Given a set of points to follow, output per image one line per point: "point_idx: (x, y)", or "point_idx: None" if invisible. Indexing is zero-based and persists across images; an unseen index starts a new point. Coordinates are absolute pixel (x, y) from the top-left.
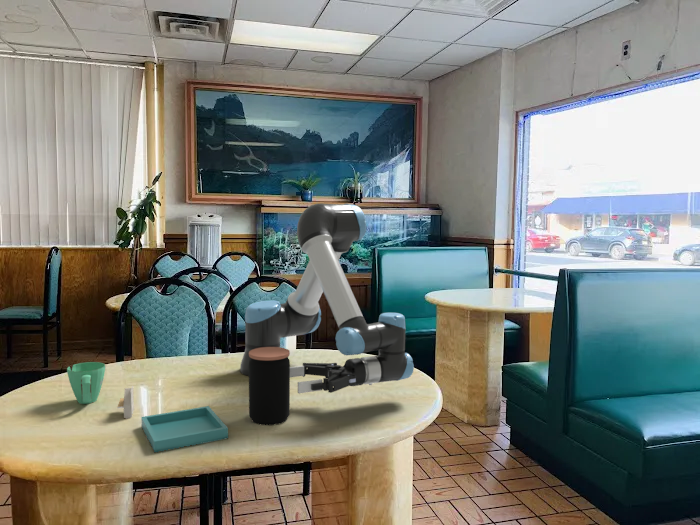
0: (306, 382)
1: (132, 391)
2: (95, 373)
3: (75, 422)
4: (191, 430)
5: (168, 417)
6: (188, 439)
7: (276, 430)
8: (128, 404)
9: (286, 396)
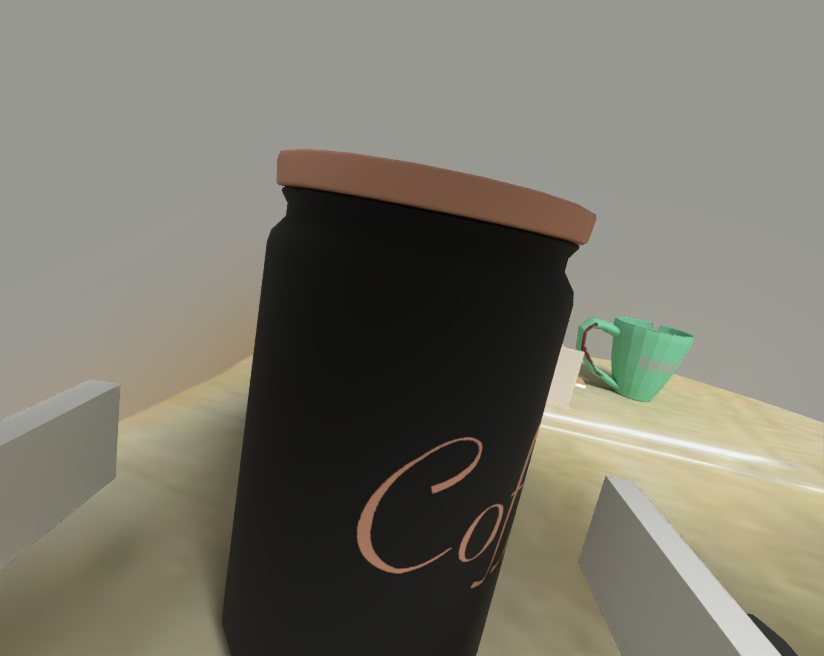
0: (18, 416)
1: (564, 356)
2: (628, 331)
3: None
4: None
5: None
6: None
7: (169, 569)
8: None
9: (246, 508)
